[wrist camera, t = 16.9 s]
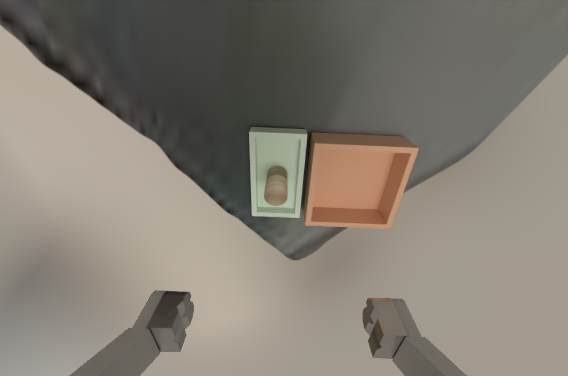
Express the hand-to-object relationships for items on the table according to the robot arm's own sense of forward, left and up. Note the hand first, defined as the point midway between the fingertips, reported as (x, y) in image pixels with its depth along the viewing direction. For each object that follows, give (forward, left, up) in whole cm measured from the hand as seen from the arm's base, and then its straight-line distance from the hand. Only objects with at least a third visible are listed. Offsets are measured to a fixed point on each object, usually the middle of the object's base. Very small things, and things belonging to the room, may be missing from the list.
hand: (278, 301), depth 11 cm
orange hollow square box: (+11, +14, -35) cm, 39 cm away
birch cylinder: (+11, -1, -34) cm, 36 cm away
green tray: (+11, -1, -35) cm, 37 cm away
